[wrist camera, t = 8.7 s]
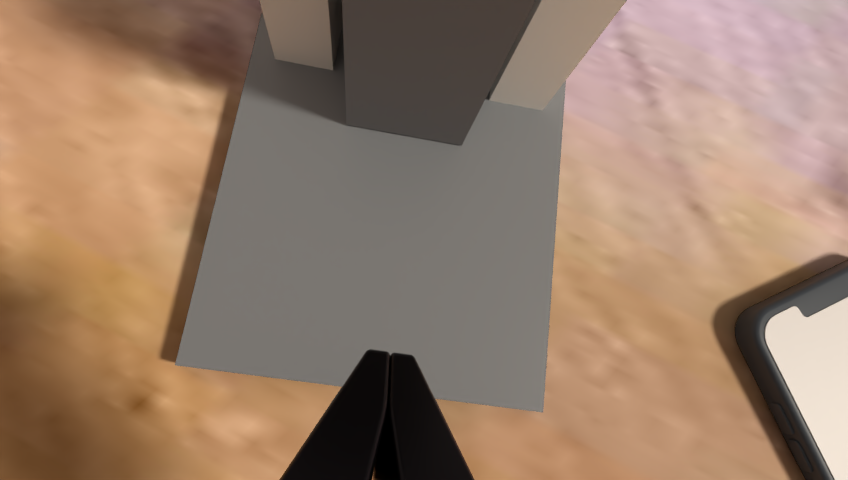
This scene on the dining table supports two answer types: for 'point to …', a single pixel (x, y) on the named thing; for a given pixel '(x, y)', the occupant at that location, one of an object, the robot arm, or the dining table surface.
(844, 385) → the smartphone
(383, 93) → the plug
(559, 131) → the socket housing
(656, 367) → the dining table surface
